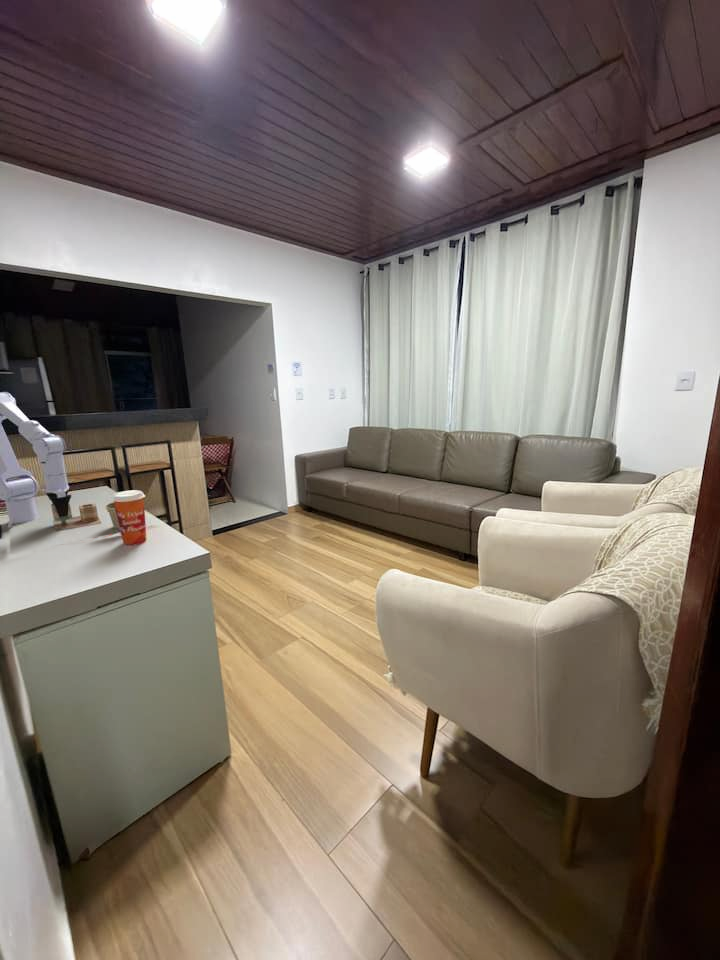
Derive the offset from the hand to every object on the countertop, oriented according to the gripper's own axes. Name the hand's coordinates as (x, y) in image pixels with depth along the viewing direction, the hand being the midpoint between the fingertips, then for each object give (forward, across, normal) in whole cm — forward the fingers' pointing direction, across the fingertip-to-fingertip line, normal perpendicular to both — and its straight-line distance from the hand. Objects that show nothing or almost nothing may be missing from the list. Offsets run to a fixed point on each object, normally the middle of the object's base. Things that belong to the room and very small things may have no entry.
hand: (62, 514), depth 123 cm
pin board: (+5, 0, +4) cm, 6 cm away
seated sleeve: (+3, 0, +7) cm, 8 cm away
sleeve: (+2, 0, 0) cm, 2 cm away
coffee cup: (+5, +30, +13) cm, 33 cm away
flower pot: (+5, +16, +14) cm, 22 cm away
